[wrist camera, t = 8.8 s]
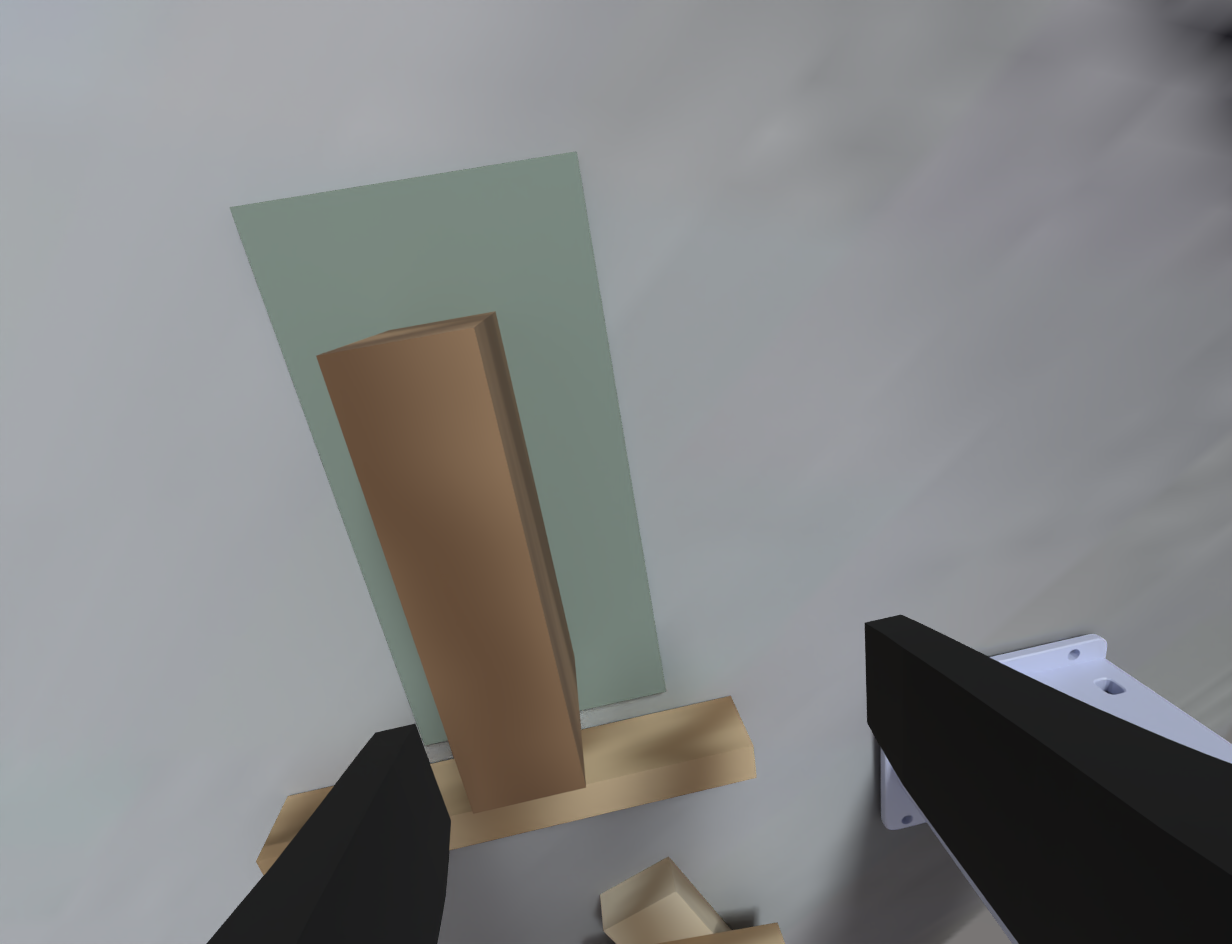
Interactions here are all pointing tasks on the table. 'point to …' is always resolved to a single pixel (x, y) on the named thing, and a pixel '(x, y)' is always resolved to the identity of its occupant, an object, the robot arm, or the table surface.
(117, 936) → the table surface
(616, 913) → the offcut low
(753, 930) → the offcut top
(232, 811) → the table surface
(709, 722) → the oak rack
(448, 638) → the tall brown wooden post
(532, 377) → the rubber mat
